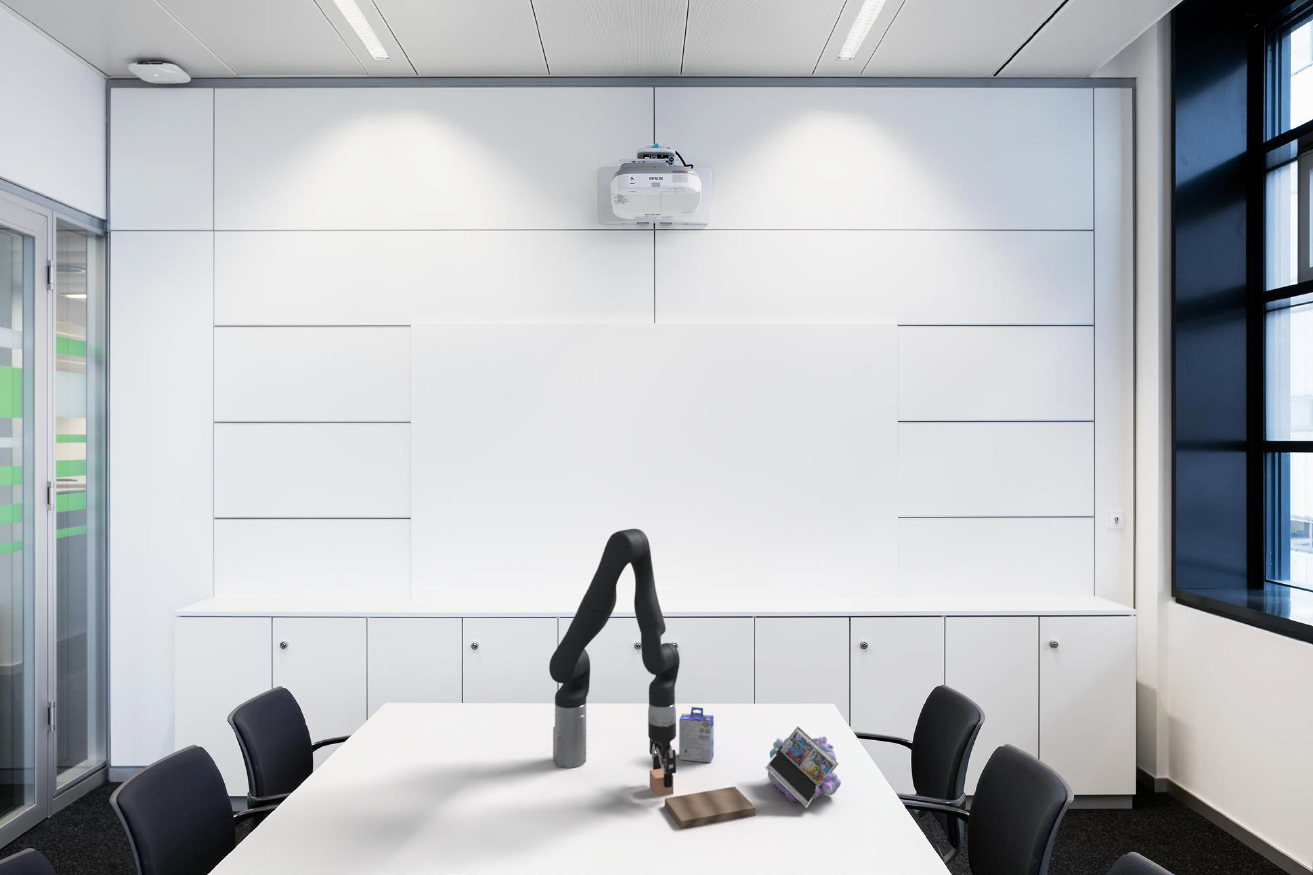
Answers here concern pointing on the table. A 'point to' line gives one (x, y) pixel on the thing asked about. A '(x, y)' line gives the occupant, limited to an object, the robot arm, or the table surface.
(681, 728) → the ink cartridge box
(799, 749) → the lumpy iridescent figurine
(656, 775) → the terracotta cube
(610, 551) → the robot arm
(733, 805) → the walnut board
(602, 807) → the table surface
